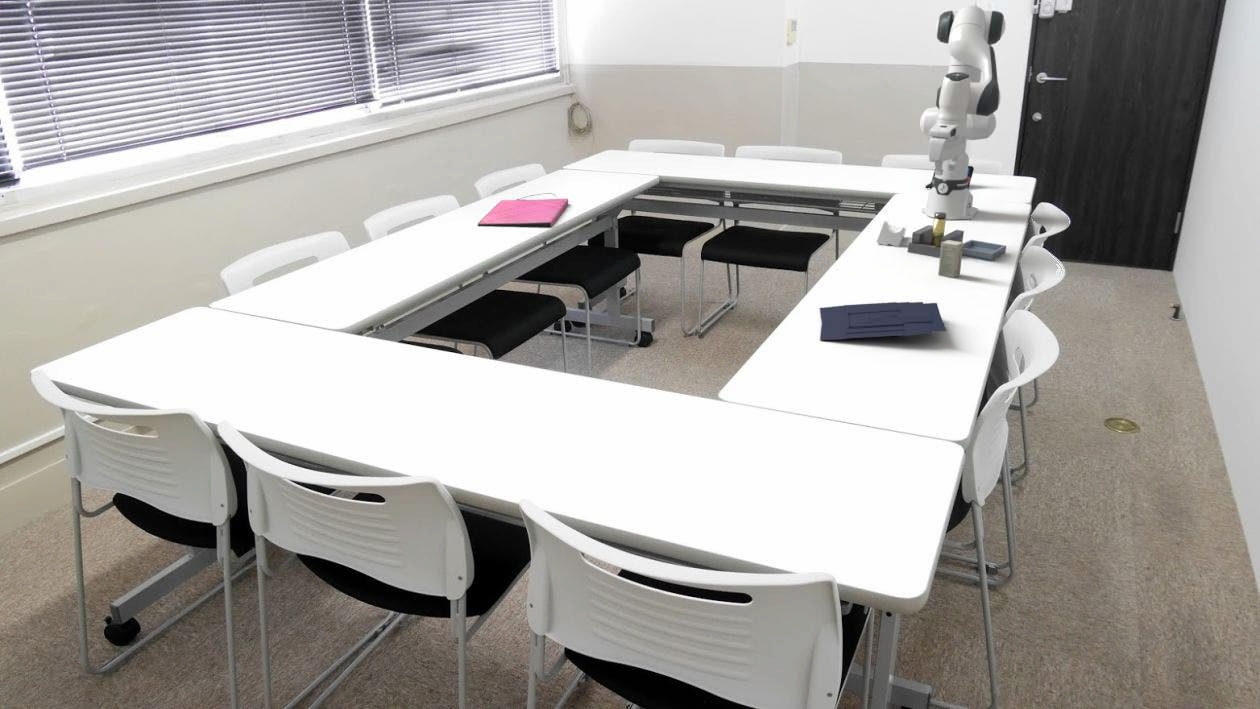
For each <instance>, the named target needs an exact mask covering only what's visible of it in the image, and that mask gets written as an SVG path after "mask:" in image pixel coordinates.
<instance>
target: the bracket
mask: <svg viewBox="0 0 1260 709" xmlns="http://www.w3.org/2000/svg"><path fill="white" fill-rule="evenodd" d="M906 233H907V226H906V225H903V226H902V228H901V227H898V226H896V225H893V224H890V223H889V220H888V219H885V220H884V222H883V225H882V227H881V229H880V233H879V234H878V237H877V240H876V243H878V244H879V245H883V246H888V245H891V246H894V247H896V248H897V247H899V246H900V244H902V241H903V239H904V238H905V235H906Z"/></svg>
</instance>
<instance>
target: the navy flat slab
mask: <svg viewBox="0 0 1260 709" xmlns="http://www.w3.org/2000/svg"><path fill="white" fill-rule="evenodd" d="M819 312H820V320H821V321H820V322H821V326H820V327H821V329H820V337H819V340H820V341H826V340H827V341H829V340H830V341H831V340H833V341H835V340H847V339H854V338H855V339H858V338H861V339H862V338H875V337H876V338H878V337H893V336H894V337H895V336H896V337H897V336H903V337H904V336H906V337H907V336H919V335H928V334H930V335H932V334H933V333H935V332H947V329H946V326H945V323H944V321H943V318H942V316H941V313H940V309H939V305H938V303H937V302H926V303H924V302H923V301H913V302H909V301H902V302H897V301H894V302H893V301H892V302H889V301H888V302H878V303H876V302H875V303H874V302H873V303H861V304H860V303H859V304H844V305H836V306H835V305H834V306H827V307H826V306H824V307H819Z"/></svg>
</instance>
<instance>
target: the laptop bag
mask: <svg viewBox="0 0 1260 709" xmlns="http://www.w3.org/2000/svg"><path fill="white" fill-rule="evenodd" d="M548 194H551V195H553V196H555V197H557V195H556V194H554V193H551V192H547V193H546V192H545V193H544V195H548ZM539 195H541V193H538V194H536V196H539ZM532 196H534V197H535V194H533V195H527V196H525V197H521V198H517V199H501V200H500V201H499V202H498V203H497V204H496V205H495V206H493V208H492V209H491V210H490V211H489V212H488V213H487V214H486V215H484V217H483V218H481V219H480V220H479V222H478V223H477V227H500V228H501V227H503V228H505V227H508V228H509V227H510V228H552V227H553V225H554V224H555V223H556V222H557V220H558V219H559V218H560V216H561V215H562V214H563V212H564V211H565V210H566V208H567V207H568V205H569V198H552V199H551V198H547V199H544V198H543V199H526V198H527V197H528V198H529V197H532Z"/></svg>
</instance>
